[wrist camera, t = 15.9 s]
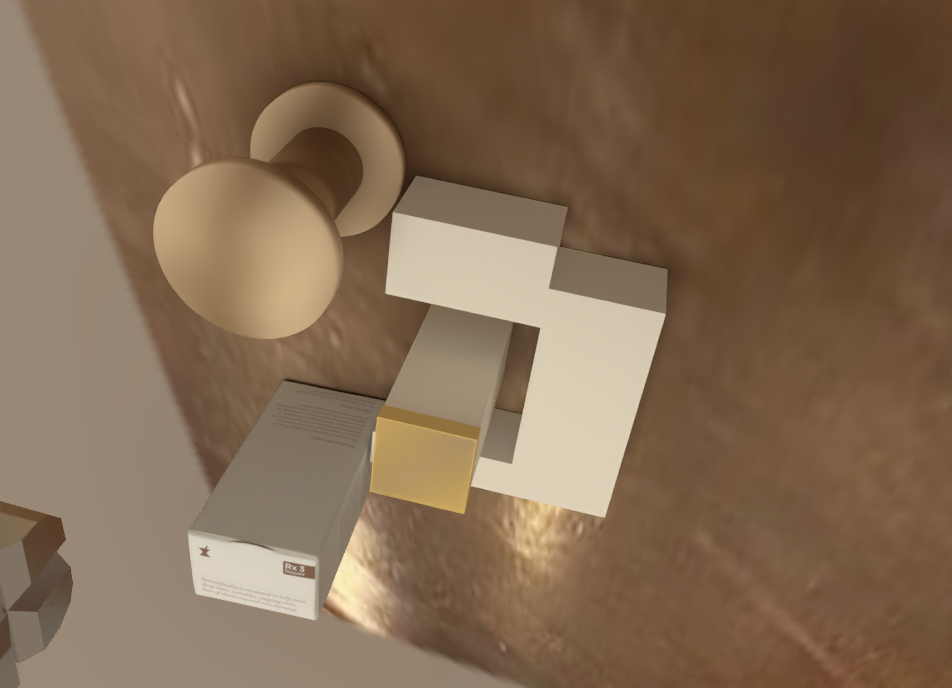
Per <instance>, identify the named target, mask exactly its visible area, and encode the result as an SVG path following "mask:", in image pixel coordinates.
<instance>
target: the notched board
mask: <svg viewBox="0 0 952 688" xmlns="http://www.w3.org/2000/svg"><path fill="white" fill-rule="evenodd" d="M567 209H568V207H565V206H560V205H555V204H551V203H546V202H541V201H536V200H532V199H527V198H522V197H517V196H512V195H508V194H503V193H498V192H493V191H488V190H484V189H479V188H474V187H469V186H464V185H460V184H455V183H450V182H445V181H440V180H436V179H431V178H426V177H421V176H416V177H415V178H414V180H413V182H412V183H411V185H410V186H409V188H408V189H407V191H406V192H405V194H404V196H403V197H402V199H401V200H400V202H399V203H398V205H397V206H396V208H395V210H394V211H393V216H392V227H391V238H390V249H389V260H388V271H387V282H386V293H385V294H390V295H394V296H399V297H403V298H408V299H412V300H417V301H422V302H426V303H431V304H435V305H440V306H444V307H449V308H453V309H458V310H462V311H467V312H471V313H476V314H480V315H485V316H490V317H494V318H499V319H503V320H508V321H512V322H517V323H521V324H526V325H530V326H535V327H539V328H540V333H539V338H538V342H537V347H536V352H535V357H534V361H533V366H532V371H531V376H530V380H529V385H528V390H527V395H526V399H525V404H524V409H523V414H518V413H514V412H510V411H505V410H501V409H497V408H494V410H493V414H492V417H491V420H490V424H489V427H488V430H487V434H486V437H485V441H484V444H483V447H482V451H481V454H480V457H479V461H478V464H477V467H476V471H475V474H474V477H473V481H472V484H471V486H474V487H478V488H482V489H486V490H490V491H495V492H499V493H503V494H507V495H511V496H516V497H520V498H524V499H528V500H532V501H537V502H541V503H545V504H549V505H554V506H558V507H562V508H566V509H570V510H575V511H579V512H583V513H587V514H591V515H596V516H600V517H604V518H605V515H606V512H607V508H608V505H609V502H610V498H611V495H612V492H613V488H614V485H615V482H616V478H617V475H618V472H619V468H620V465H621V462H622V458H623V455H624V452H625V448H626V445H627V442H628V439H629V435H630V432H631V429H632V425H633V422H634V419H635V415H636V412H637V409H638V405H639V402H640V399H641V395H642V392H643V389H644V385H645V382H646V379H647V375H648V372H649V369H650V365H651V362H652V359H653V355H654V352H655V349H656V345H657V342H658V339H659V335H660V332H661V329H662V325H663V322H664V319H665V315H666V299H667V273H668V269H664V268H659V267H654V266H650V265H645V264H640V263H635V262H631V261H626V260H621V259H617V258H612V257H607V256H603V255H598V254H593V253H588V252H584V251H579V250H574V249H570V248H565V247H560V243H561V238H562V233H563V228H564V224H565V219H566V214H567ZM375 433H376V426H375V428H374V430H373V435H372V446H371V457H370V462H372V463H373V454H374V443H375Z"/></svg>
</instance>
